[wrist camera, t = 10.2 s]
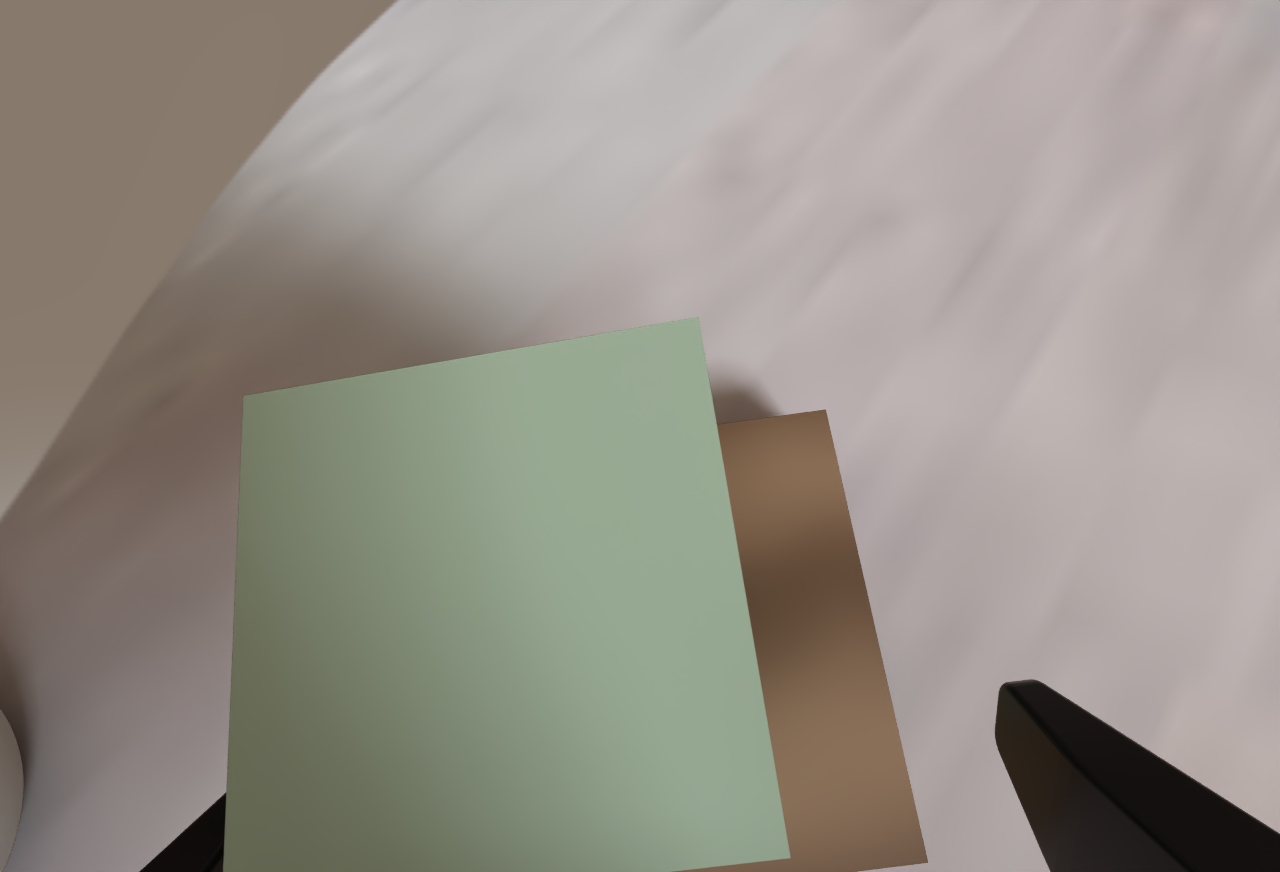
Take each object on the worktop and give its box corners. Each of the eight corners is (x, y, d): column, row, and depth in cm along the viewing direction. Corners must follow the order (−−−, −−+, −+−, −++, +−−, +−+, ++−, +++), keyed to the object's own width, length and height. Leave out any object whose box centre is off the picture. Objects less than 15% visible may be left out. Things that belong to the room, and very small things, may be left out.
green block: (751, 724, 17) (790, 856, 5) (565, 748, 18) (220, 922, 6) (720, 536, 19) (697, 316, 7) (549, 562, 19) (243, 396, 7)
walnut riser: (888, 835, 20) (927, 862, 16) (483, 886, 20) (442, 923, 17) (806, 450, 23) (825, 409, 20) (467, 496, 24) (431, 463, 20)
